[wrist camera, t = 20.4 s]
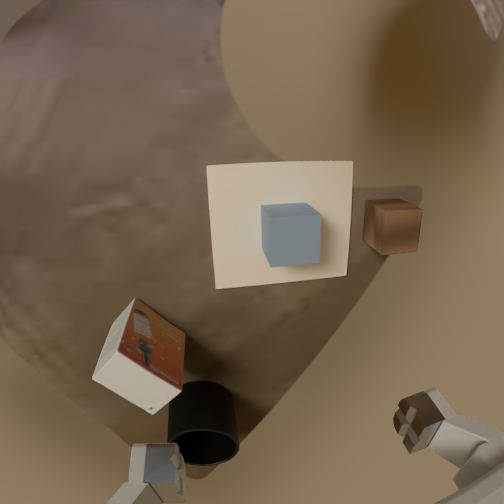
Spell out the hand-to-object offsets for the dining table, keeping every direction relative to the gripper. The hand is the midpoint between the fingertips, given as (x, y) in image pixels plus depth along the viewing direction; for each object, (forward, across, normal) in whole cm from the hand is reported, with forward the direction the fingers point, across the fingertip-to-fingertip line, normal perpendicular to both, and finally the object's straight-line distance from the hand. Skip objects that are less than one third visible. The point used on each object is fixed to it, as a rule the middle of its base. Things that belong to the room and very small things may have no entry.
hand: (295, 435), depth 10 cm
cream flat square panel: (+27, -6, +2) cm, 28 cm away
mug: (+27, +8, +29) cm, 40 cm away
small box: (+27, +11, +14) cm, 32 cm away
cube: (+27, -6, +2) cm, 28 cm away
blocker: (+27, -18, +2) cm, 33 cm away
